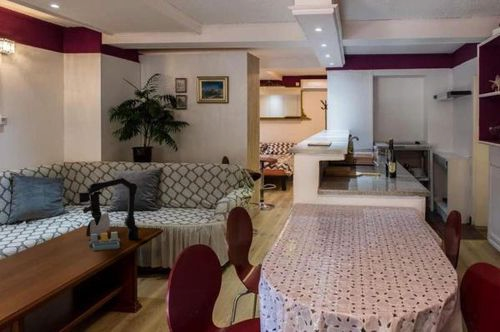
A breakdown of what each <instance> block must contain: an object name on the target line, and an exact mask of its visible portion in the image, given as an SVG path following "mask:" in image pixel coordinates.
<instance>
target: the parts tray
mask: <svg viewBox="0 0 500 332" xmlns="http://www.w3.org/2000/svg"><path fill="white" fill-rule="evenodd" d="M120 245H121V244H119V243H118V241H111V242H101V243H93V246H92V251H93V252H96V251H105V250H108V251H109V250H116V249H120Z"/></svg>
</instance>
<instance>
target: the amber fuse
mask: <svg viewBox="0 0 500 332" xmlns="http://www.w3.org/2000/svg"><path fill="white" fill-rule="evenodd" d="M108 235H109V234H108V232H106V233H101V236H100V240H101V241H102V242H104V241H108V239H109V238H108V237H109V236H108Z"/></svg>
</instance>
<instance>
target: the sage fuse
mask: <svg viewBox="0 0 500 332" xmlns="http://www.w3.org/2000/svg"><path fill="white" fill-rule="evenodd" d="M118 236H119V234H118V231H111V232H110V239H111V240H112V241H114V240H118V238H119V237H118Z"/></svg>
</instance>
